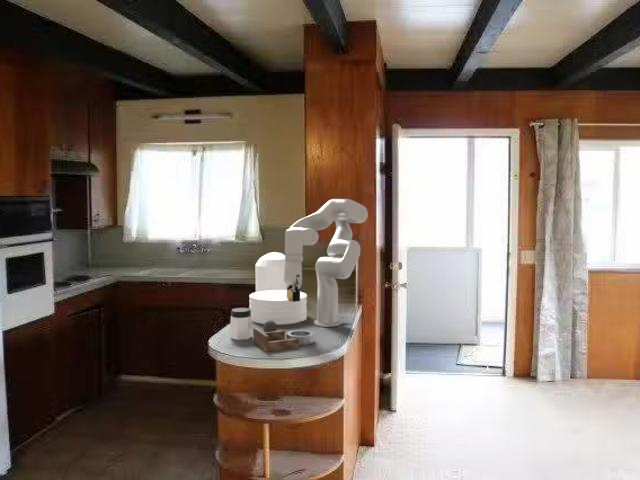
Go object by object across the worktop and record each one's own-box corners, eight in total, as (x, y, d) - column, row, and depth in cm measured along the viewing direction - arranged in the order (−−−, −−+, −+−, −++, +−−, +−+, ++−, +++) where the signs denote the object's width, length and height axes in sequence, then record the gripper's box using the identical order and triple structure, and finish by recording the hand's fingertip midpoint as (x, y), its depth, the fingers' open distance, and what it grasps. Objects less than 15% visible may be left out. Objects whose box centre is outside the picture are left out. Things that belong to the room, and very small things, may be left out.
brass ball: (297, 300, 242) (297, 286, 242) (302, 302, 237) (302, 288, 236) (284, 301, 240) (284, 287, 239) (289, 303, 234) (289, 289, 234)
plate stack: (299, 326, 257) (299, 301, 256) (241, 323, 263) (241, 299, 262) (312, 313, 284) (312, 291, 283) (259, 310, 290) (259, 288, 289)
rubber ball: (273, 331, 246) (273, 318, 245) (279, 335, 240) (279, 321, 240) (261, 333, 243) (261, 319, 243) (266, 336, 238) (265, 322, 237)
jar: (255, 337, 236) (255, 309, 235) (240, 341, 230) (240, 312, 229) (242, 333, 242) (242, 306, 241) (227, 337, 236) (226, 309, 235)
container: (251, 299, 319) (250, 250, 316) (286, 296, 327) (286, 249, 324) (261, 306, 300) (261, 254, 297) (298, 303, 308) (298, 253, 305)
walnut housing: (283, 338, 235) (283, 324, 234) (298, 347, 222) (298, 332, 221) (253, 342, 229) (253, 327, 229) (266, 351, 216) (266, 336, 215)
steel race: (306, 337, 237) (306, 328, 237) (317, 343, 228) (318, 335, 227) (282, 339, 233) (282, 331, 232) (293, 346, 223) (293, 338, 222)
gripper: (278, 256, 243) (278, 297, 244) (292, 260, 227) (292, 304, 229) (294, 255, 246) (294, 296, 247) (309, 259, 230) (309, 302, 232)
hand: (293, 299), depth 238 cm, fingers closed on brass ball, 6 cm apart
